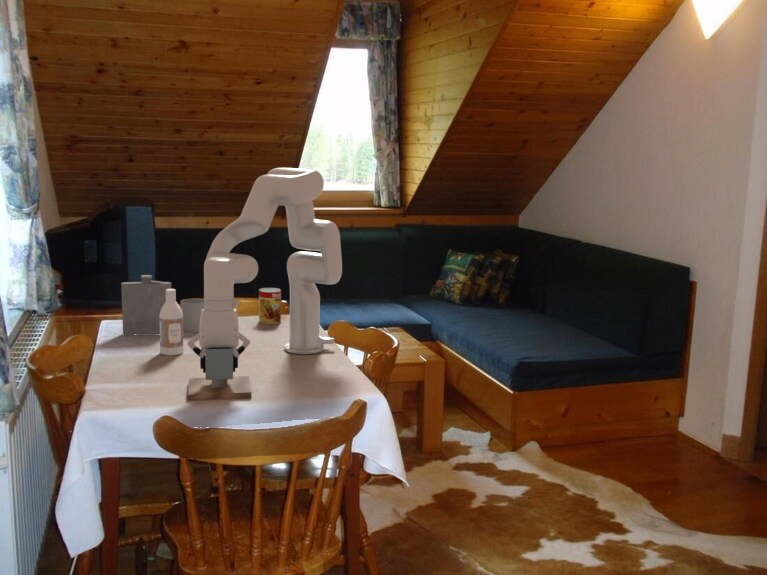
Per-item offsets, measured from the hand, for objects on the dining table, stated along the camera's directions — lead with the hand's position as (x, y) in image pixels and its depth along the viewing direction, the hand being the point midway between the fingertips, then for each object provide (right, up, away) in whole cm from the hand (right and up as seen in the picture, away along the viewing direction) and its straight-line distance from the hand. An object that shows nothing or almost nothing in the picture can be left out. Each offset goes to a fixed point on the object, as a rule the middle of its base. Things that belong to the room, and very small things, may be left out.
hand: (219, 370), depth 202 cm
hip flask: (-36, +6, +56) cm, 67 cm away
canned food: (+2, +9, +79) cm, 80 cm away
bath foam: (-22, +1, +34) cm, 41 cm away
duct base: (0, -5, +1) cm, 6 cm away
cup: (-23, +7, +64) cm, 69 cm away
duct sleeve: (0, -1, 0) cm, 1 cm away
